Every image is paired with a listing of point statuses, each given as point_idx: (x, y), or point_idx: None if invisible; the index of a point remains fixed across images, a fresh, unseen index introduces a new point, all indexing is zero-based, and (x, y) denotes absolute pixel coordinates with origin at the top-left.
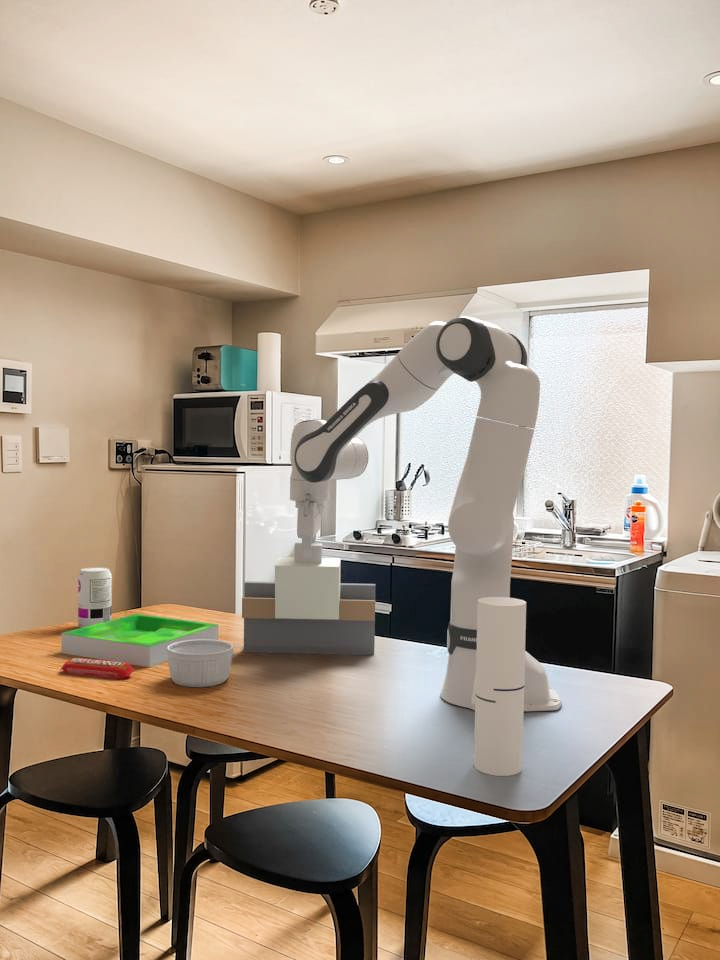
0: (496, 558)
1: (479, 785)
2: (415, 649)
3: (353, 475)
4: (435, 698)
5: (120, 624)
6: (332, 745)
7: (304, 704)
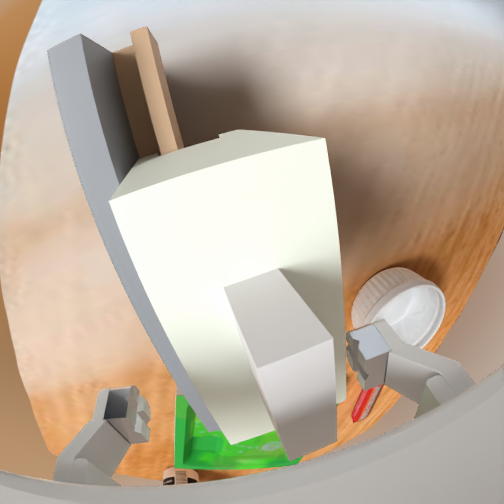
0: None
1: None
2: (69, 17)
3: None
4: None
5: (216, 461)
6: None
7: (460, 130)
